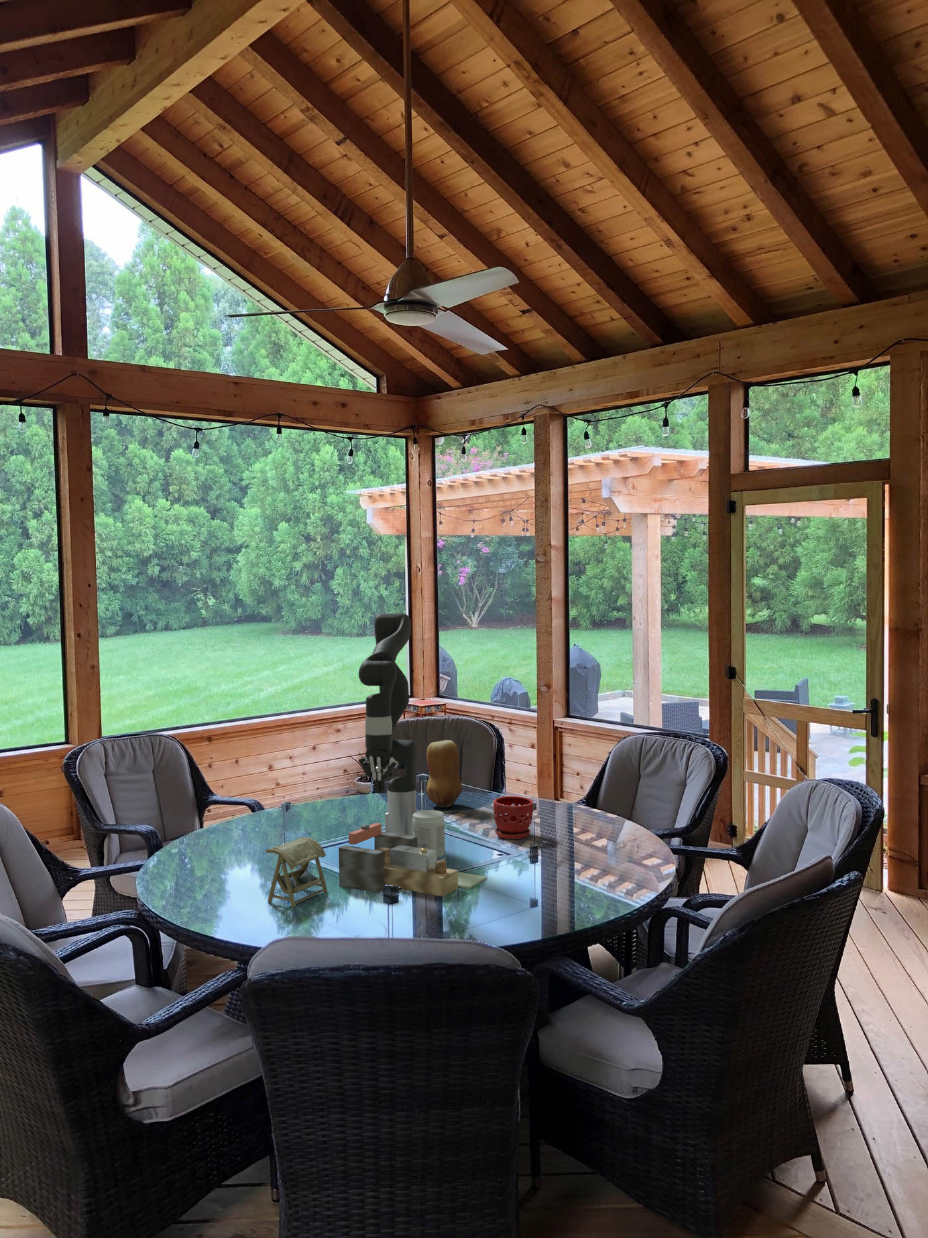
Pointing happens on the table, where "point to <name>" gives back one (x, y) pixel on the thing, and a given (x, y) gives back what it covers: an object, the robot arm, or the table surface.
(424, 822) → the supplement tub
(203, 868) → the table surface
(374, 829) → the latch bar
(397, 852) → the block with brass knob
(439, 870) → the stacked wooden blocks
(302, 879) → the swing bench
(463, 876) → the mat
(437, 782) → the butternut squash
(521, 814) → the plant pot
